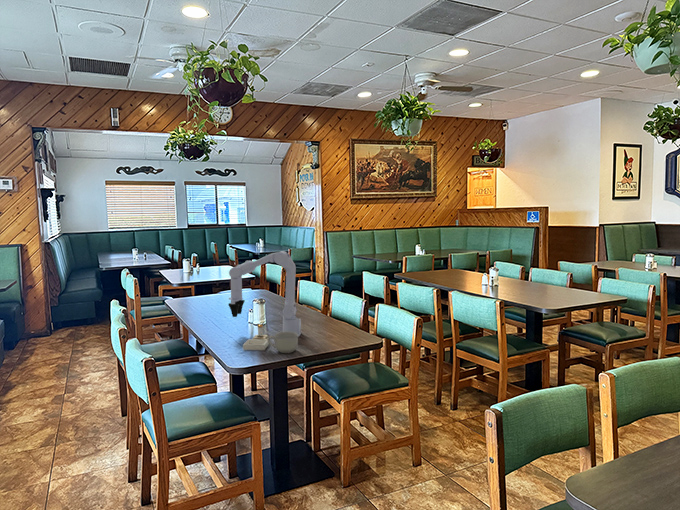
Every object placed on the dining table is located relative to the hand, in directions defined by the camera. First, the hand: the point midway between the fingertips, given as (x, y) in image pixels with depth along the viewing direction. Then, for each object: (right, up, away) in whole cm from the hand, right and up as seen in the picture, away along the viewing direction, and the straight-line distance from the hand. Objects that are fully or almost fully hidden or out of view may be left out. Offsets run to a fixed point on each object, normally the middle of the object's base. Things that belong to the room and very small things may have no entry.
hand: (236, 315), depth 245 cm
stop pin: (+15, -11, -16) cm, 24 cm away
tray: (+14, -12, -24) cm, 31 cm away
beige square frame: (+15, -11, -16) cm, 24 cm away
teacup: (+28, -13, -31) cm, 44 cm away
